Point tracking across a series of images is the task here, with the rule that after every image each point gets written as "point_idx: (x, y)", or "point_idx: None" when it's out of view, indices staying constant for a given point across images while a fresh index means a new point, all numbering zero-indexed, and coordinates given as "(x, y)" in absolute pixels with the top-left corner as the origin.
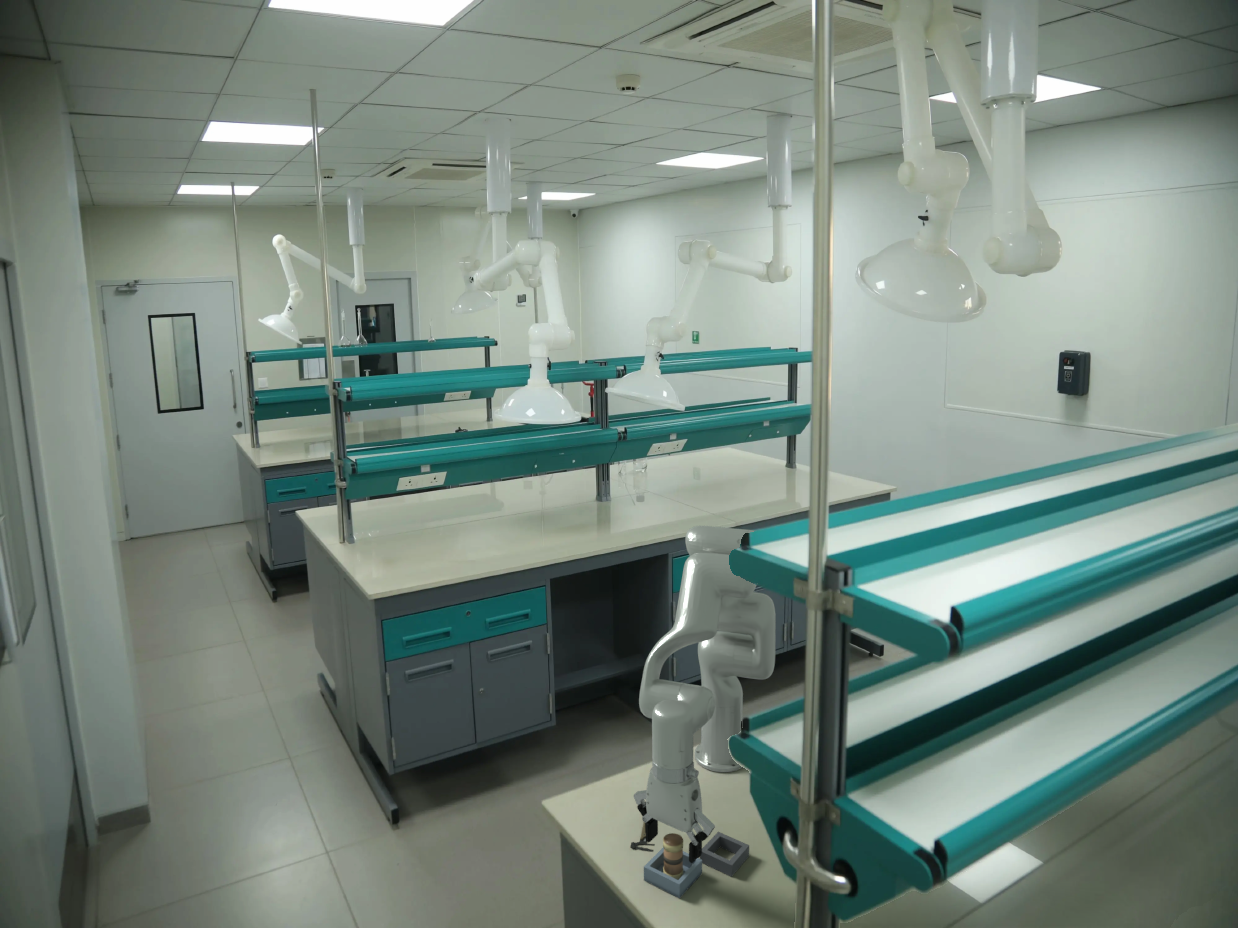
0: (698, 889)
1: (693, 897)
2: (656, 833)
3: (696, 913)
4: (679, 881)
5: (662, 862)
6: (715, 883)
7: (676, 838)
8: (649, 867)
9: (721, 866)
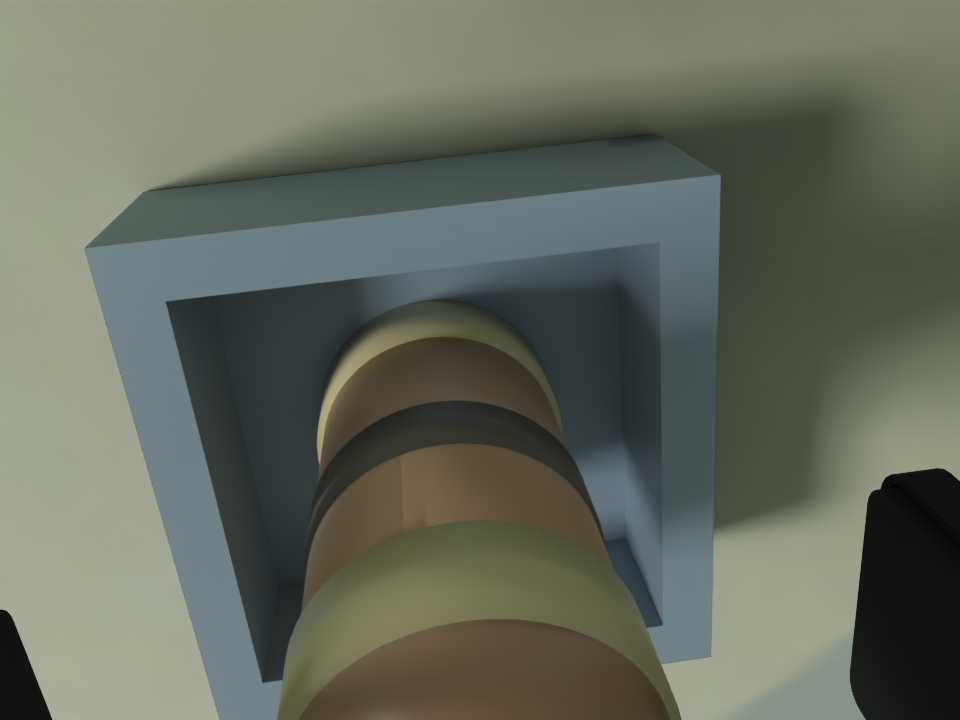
0: (747, 350)
1: (759, 457)
2: (2, 664)
3: None
4: (684, 624)
5: (226, 376)
6: (858, 159)
7: (506, 709)
8: (280, 692)
9: None
